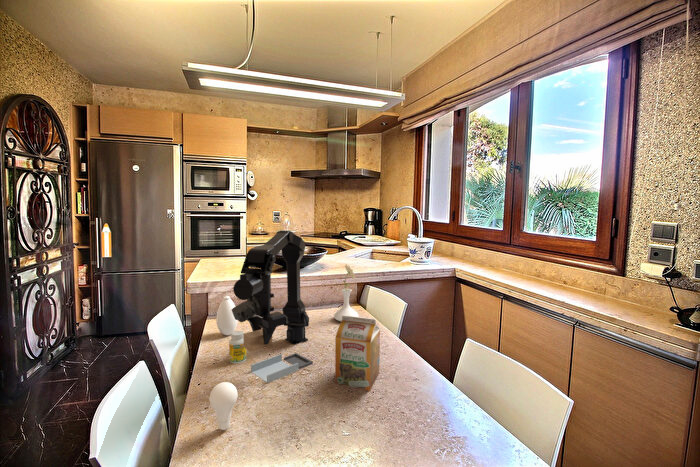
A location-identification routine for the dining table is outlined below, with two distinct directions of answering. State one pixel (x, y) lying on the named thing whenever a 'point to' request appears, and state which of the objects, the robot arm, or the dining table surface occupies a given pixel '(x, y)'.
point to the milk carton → (357, 352)
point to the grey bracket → (273, 368)
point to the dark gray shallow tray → (298, 360)
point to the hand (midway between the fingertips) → (261, 341)
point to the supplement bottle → (237, 347)
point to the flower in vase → (346, 300)
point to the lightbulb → (223, 402)
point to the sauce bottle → (226, 316)
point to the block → (255, 340)
